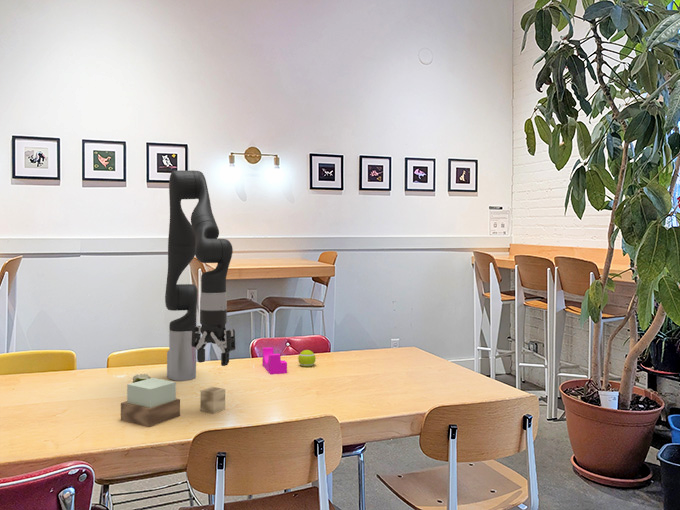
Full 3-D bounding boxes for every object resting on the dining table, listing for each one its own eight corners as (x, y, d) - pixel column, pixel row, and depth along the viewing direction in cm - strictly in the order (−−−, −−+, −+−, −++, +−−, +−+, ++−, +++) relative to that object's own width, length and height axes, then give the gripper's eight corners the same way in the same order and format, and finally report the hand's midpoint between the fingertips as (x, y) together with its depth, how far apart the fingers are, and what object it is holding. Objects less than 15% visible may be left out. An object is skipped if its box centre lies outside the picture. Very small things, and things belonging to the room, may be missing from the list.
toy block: (287, 374, 211) (287, 354, 211) (270, 376, 209) (270, 355, 209) (278, 366, 225) (278, 347, 225) (262, 366, 223) (262, 347, 223)
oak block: (200, 411, 166) (200, 390, 165) (211, 406, 170) (211, 386, 170) (213, 413, 163) (214, 392, 163) (225, 409, 168) (225, 388, 167)
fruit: (142, 406, 172) (140, 381, 170) (122, 400, 176) (120, 375, 175) (166, 395, 179) (164, 371, 178) (146, 390, 184) (144, 366, 183)
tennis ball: (314, 369, 219) (315, 352, 219) (297, 369, 220) (297, 351, 219) (315, 365, 226) (316, 348, 226) (298, 365, 226) (299, 348, 226)
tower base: (120, 421, 156) (120, 402, 156) (151, 410, 166) (151, 393, 166) (149, 428, 151) (150, 409, 151) (179, 416, 161) (180, 399, 161)
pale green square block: (127, 402, 157) (127, 384, 157) (153, 395, 165) (153, 377, 164) (150, 407, 152) (150, 389, 152) (175, 399, 160) (175, 382, 160)
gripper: (185, 307, 166) (185, 363, 166) (224, 310, 159) (224, 369, 159) (203, 305, 172) (202, 358, 173) (241, 308, 166) (240, 364, 166)
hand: (213, 363), depth 166 cm, fingers open, 8 cm apart
